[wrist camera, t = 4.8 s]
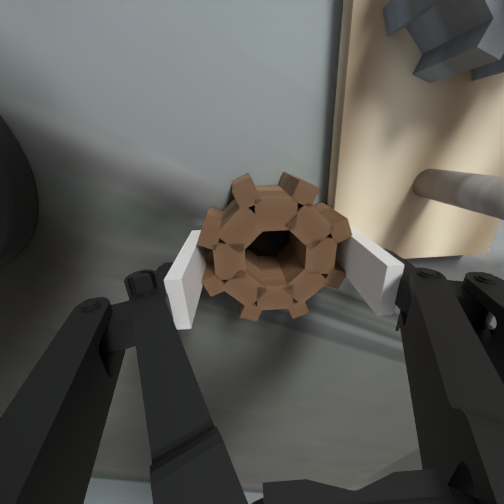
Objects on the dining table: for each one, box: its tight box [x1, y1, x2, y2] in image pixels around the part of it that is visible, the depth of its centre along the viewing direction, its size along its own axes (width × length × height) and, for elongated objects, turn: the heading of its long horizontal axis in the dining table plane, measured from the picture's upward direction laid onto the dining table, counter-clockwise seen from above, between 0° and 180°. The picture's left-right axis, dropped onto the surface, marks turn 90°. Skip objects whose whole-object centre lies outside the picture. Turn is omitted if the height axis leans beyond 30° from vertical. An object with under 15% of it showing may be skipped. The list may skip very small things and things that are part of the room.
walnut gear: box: [196, 172, 353, 322], centre depth 16 cm, size 9×9×4 cm
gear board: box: [327, 0, 504, 259], centre depth 11 cm, size 12×22×8 cm, turn 3°
